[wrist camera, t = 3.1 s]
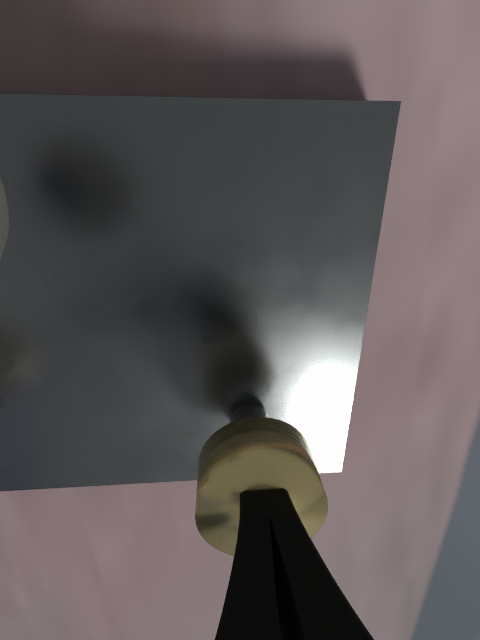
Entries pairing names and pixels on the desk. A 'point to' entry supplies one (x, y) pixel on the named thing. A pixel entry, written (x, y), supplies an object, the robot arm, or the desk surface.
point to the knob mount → (181, 277)
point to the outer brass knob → (254, 474)
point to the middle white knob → (4, 213)
